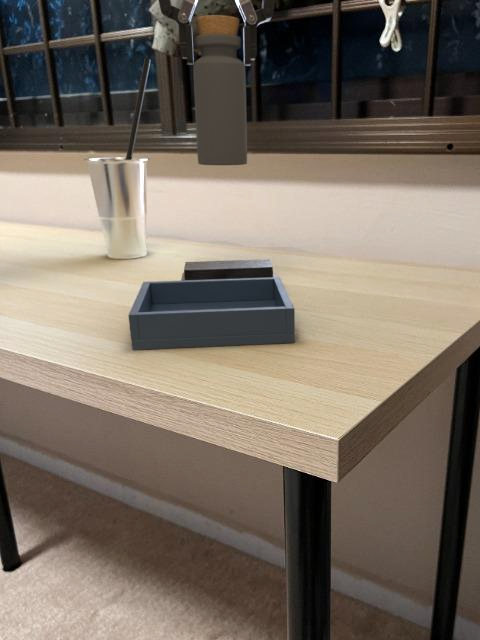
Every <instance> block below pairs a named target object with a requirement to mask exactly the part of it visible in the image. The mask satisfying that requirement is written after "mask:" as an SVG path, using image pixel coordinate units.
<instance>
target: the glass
mask: <svg viewBox="0 0 480 640" xmlns="http://www.w3.org/2000/svg"><path fill="white" fill-rule="evenodd" d="M150 66H151V58H149V57H145V58H144V62H143V66H142V72H141V76H140V83H139V87H138V93H137V98H136V103H135V107H134V108H135V109H134V115H133V120H132V125H131V129H130V130H131V131H130V135H129V140H128V144H127V145H128V147H127V151H126V156H125V157H95V158H84V159H83V161H84V162H86V164H87V169H88V173H89V177H90V182H91V187H92V191H93V195H94V196H93V197H94V201H95V205H96V209H97V215H98V217H99V221H100V224H101V225H100V226H101V231H102V235H103V240H104V244H105V249H106V252H107V254H106V255H107V257H108V258H110V259H114V260H131V259H139V258H143V257H146V256H147V255H148V252H147V214H148V209H147V207H148V202H147V201H148V198H147V197H148V194H147V193H148V192H147V191H148V187H147V186H148V183H147V182H148V181H147V179H148V177H147V176H148V175H147V174H148V173H147V171H148V169H147V167H148V161H149V160H150V158H149V157H133V154H134V149H135V144H136V138H137V134H138V128H139V123H140V118H141V111H142V108H143V102H144V97H145V92H146V86H147V81H148V76H149V71H150Z"/></svg>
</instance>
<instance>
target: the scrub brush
mask: <svg viewBox="0 0 480 640" xmlns="http://www.w3.org/2000/svg"><path fill="white" fill-rule="evenodd" d="M271 277H277V275H276V274H275V271H274V267H273V265H272V262H271V260H270V259H269V258H268V259H238V260H236V259H235V260H205V261H204V260H203V261H185V263H184V268H183V272H182V274H181V279H180V281H182V280H212V279H241V278H271Z"/></svg>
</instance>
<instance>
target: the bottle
mask: <svg viewBox="0 0 480 640" xmlns="http://www.w3.org/2000/svg"><path fill="white" fill-rule="evenodd" d="M195 22H196V27H197V31H198V34H199V35H197V36H195V38H194V39H195V40H194V42H195V43H194V46H195V47H196V48H198V49H200V58H197V60H195V61H194V65H192V66H193V68H192V70H193V93H194V112H195V113H194V114H195V131H196V150H197V151H196V152H197V153H196V154H197V163H198V165H202V166H242V165H247V164H248V130H247V129H248V127H247V126H248V124H247V123H248V122H247V81H246V66H245V65H244V61H243V60H241V59H239V58H238V57H237V56H238V55H237V54H238V53H237V51H238V50H239V49H241V48H242V47H243V46H242V37H241V36H238V32H239V26H240V18H238V17H235V16H231V15H221V14H220V15H219V14H211V15H200V16H197V17H196V18H195Z"/></svg>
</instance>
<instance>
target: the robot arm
mask: <svg viewBox="0 0 480 640" xmlns="http://www.w3.org/2000/svg"><path fill="white" fill-rule="evenodd" d="M234 1H235V4H236V6H237V8H238V10H239V13H240V15H241V17H242V19H243V22H244V25H243V28H242V42H243V46H242V47H243V48H242V49H243V63H244V65H245V67H250V66H251V65H252V61H255V60H256V58H257V54H258V38H257V37H258V34H257V30H258V26H259V25H261V24H264V23H268V22H270V21H271V20H272V17H273V16H274V11H275V5H276V0H262V1H261V2H262V3H261V8H258V9H256V10H255V8H254V6H253V3H252V0H234ZM198 2H199V0H182V2H181V5H180V8H178V7H176V6H174V5H173V4H172V0H158V5H159V9H160V13H161V15H162V17H163V18H164V19H165V20H169V21H171V22H173V23H175V24H176V25H177V27H178V39H179V54H180V56H181V58H182V59H183V60H186V65H189V66H193V65H194V63H195V61H194V60H195V59H194V42H193V25H192V24H191V21H192V17H193V15H194V12H195V10H196V7H197V4H198Z"/></svg>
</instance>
